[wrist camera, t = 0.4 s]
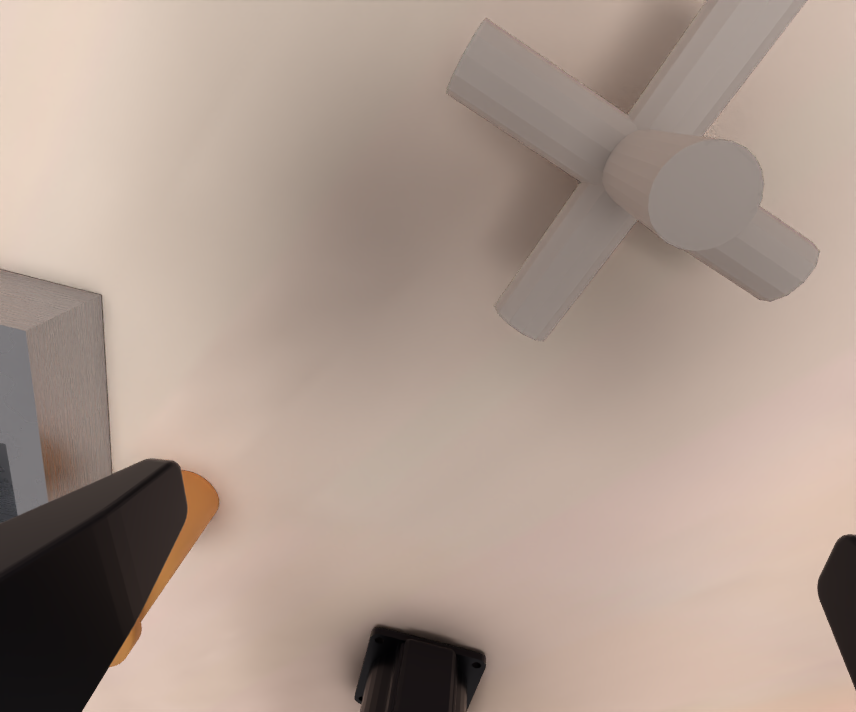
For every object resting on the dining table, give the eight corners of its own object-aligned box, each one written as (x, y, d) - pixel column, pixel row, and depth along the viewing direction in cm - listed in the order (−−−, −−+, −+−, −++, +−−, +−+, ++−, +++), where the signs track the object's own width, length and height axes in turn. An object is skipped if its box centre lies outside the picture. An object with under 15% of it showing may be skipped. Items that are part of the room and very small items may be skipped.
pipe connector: (621, 339, 21) (719, 519, 12) (400, 203, 19) (319, 286, 10) (831, 92, 16) (1243, 74, 7) (567, -104, 15) (676, -415, 6)
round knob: (222, 532, 28) (130, 677, 20) (152, 514, 28) (36, 653, 21) (226, 476, 26) (126, 613, 19) (151, 457, 26) (24, 587, 19)
